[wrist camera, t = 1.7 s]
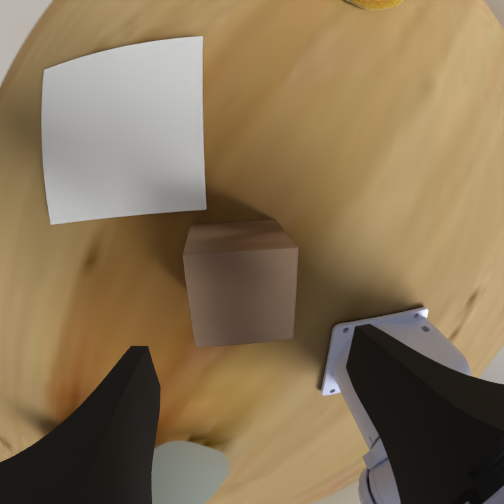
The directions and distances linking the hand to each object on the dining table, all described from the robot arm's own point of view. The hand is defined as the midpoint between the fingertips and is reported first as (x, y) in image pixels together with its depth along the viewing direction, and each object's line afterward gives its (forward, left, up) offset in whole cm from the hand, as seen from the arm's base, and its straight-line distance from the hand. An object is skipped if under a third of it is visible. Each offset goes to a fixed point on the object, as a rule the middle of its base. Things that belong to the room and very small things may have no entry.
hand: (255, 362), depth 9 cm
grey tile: (+6, -8, -9) cm, 14 cm away
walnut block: (0, 0, -9) cm, 9 cm away
